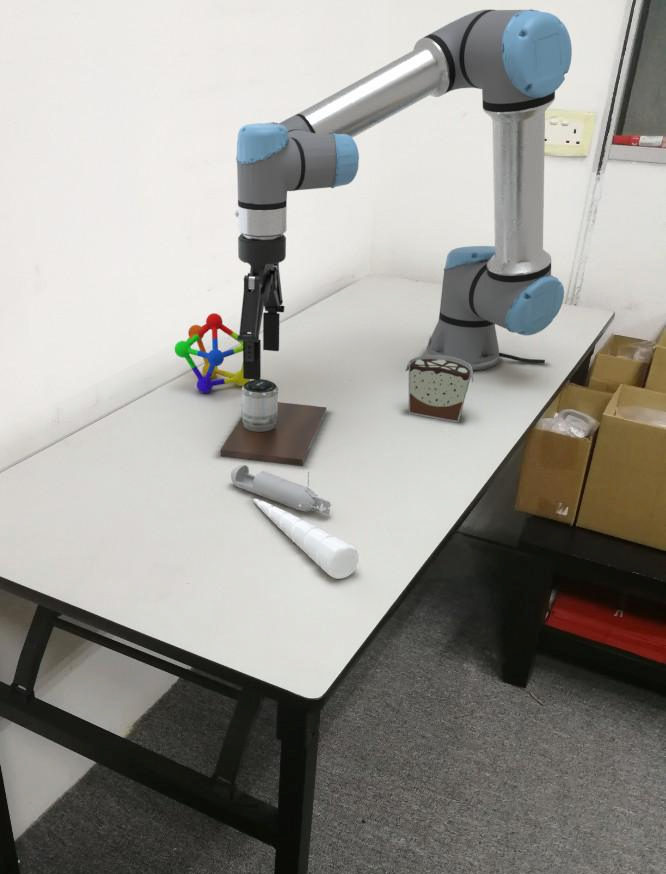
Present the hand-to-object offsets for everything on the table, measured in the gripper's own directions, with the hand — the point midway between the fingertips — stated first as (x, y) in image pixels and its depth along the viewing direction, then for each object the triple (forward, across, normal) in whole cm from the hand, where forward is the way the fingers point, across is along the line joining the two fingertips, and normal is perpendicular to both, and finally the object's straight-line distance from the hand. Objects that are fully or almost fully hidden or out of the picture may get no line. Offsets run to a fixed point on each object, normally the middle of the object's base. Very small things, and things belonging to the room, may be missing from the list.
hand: (261, 363), depth 145 cm
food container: (+13, -17, +30) cm, 36 cm away
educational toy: (+13, -17, -13) cm, 25 cm away
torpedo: (+13, +24, +9) cm, 28 cm away
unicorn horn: (+12, +34, +14) cm, 39 cm away
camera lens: (+11, 0, 0) cm, 11 cm away
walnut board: (+12, 0, +3) cm, 13 cm away
